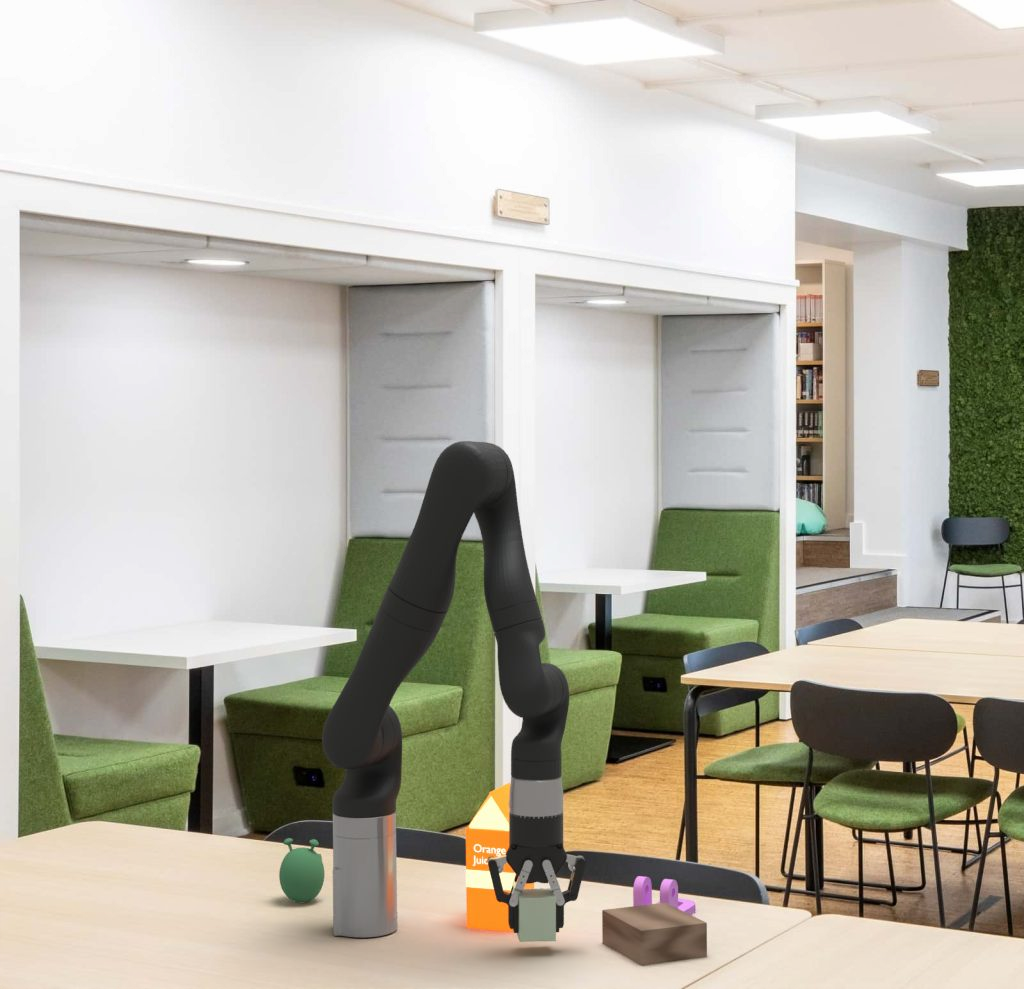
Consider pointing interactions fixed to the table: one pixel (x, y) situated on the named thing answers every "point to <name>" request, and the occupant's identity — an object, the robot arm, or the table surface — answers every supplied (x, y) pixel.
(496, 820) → the orange juice
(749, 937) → the table surface
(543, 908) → the sage block
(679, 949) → the plate
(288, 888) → the alien toy
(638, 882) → the bracket
